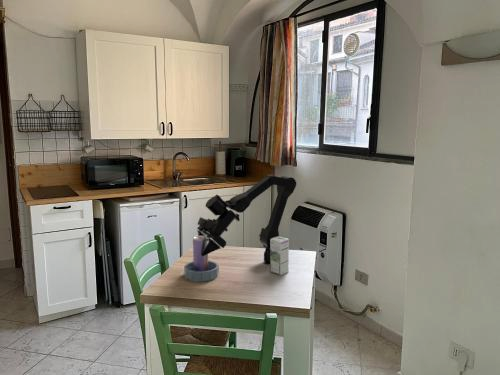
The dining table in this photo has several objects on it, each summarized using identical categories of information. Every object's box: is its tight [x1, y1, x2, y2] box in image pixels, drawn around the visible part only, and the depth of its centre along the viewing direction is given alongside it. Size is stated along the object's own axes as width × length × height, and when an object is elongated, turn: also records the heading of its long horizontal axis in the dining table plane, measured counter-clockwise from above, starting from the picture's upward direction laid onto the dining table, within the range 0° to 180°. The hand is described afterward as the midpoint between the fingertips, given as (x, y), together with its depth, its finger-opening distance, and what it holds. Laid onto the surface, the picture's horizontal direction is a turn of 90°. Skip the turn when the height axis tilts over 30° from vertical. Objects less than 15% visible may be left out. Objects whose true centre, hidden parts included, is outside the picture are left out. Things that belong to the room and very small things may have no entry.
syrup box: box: [269, 235, 290, 276], centre depth 169 cm, size 6×6×14 cm
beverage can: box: [192, 235, 209, 272], centre depth 165 cm, size 6×6×15 cm
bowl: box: [183, 260, 220, 283], centre depth 166 cm, size 14×14×4 cm
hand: (197, 252), depth 164 cm, fingers open, 9 cm apart
